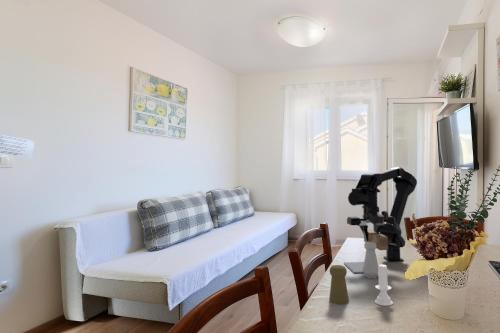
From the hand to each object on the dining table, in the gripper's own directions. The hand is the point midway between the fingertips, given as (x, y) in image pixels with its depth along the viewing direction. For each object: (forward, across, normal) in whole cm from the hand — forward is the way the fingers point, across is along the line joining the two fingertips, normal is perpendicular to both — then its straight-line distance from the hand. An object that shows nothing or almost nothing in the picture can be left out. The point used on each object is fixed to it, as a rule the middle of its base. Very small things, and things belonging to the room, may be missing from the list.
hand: (371, 241), depth 152 cm
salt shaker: (+10, -6, -15) cm, 19 cm away
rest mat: (+10, -6, -3) cm, 12 cm away
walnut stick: (+1, 0, -4) cm, 4 cm away
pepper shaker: (+11, -25, -36) cm, 46 cm away
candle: (+11, -13, -40) cm, 43 cm away
